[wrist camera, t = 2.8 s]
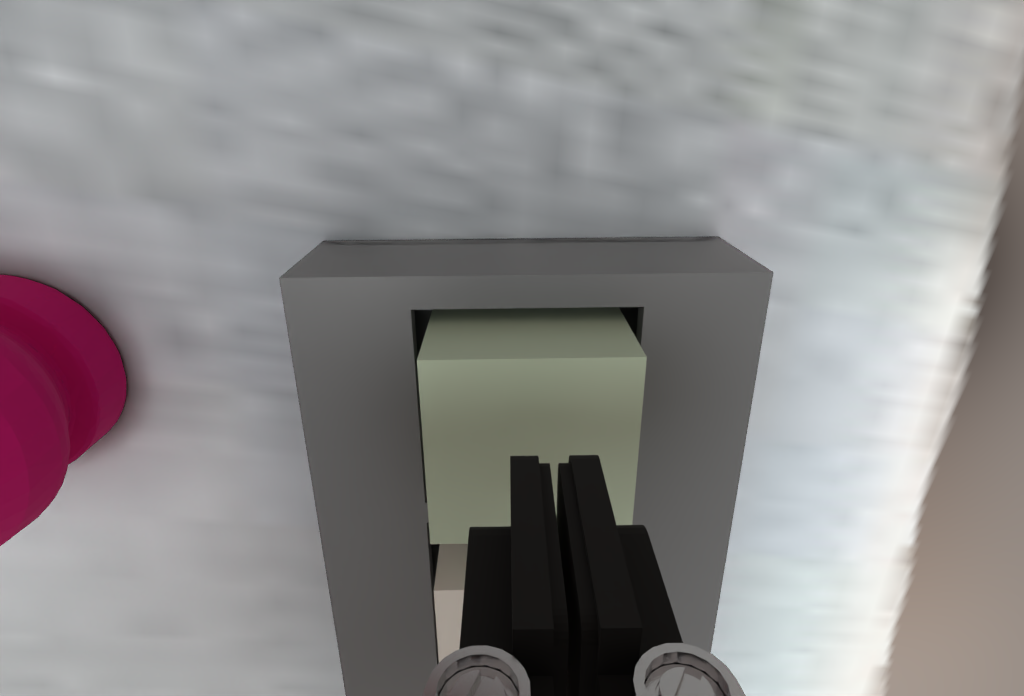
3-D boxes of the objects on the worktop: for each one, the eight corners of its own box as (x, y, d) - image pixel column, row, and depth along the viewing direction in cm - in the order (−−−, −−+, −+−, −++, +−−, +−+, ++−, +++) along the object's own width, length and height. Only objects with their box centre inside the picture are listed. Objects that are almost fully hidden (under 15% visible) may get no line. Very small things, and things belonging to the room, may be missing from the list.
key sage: (606, 456, 19) (630, 540, 15) (443, 459, 19) (430, 544, 15) (615, 301, 17) (646, 357, 13) (433, 304, 17) (416, 360, 13)
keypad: (647, 798, 29) (670, 907, 25) (395, 805, 29) (379, 915, 25) (718, 236, 19) (776, 274, 15) (323, 241, 18) (276, 280, 14)
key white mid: (595, 615, 21) (615, 719, 18) (452, 618, 21) (443, 723, 18) (603, 497, 19) (626, 586, 16) (445, 499, 19) (433, 590, 16)
